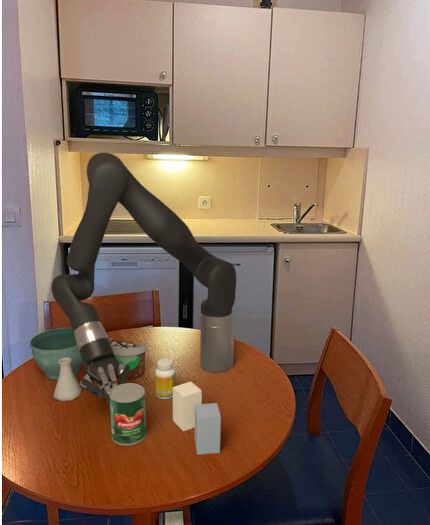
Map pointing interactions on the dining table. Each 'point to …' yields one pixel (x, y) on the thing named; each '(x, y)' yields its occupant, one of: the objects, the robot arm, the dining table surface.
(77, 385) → the flask
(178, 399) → the cream block
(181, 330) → the dining table surface
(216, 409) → the slate-blue block
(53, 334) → the flower pot
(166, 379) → the supplement bottle
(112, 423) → the canned tomato
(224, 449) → the dining table surface
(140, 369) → the food container
